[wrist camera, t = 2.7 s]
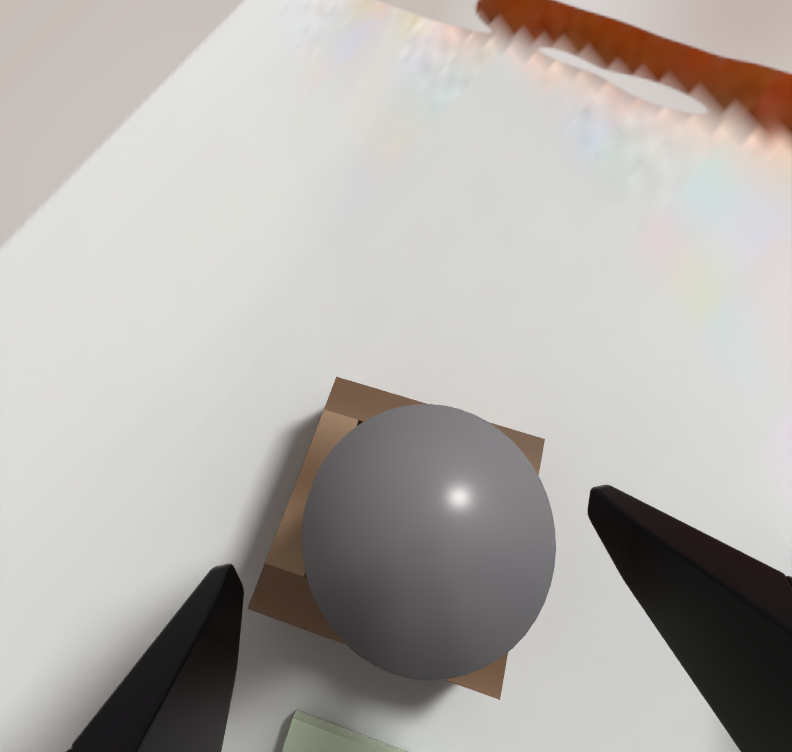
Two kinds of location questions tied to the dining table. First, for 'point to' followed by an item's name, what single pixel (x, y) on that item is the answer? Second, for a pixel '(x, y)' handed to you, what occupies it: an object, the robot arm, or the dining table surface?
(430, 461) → the plug
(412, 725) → the dining table surface
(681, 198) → the dining table surface
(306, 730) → the green mat
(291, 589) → the walnut collar
